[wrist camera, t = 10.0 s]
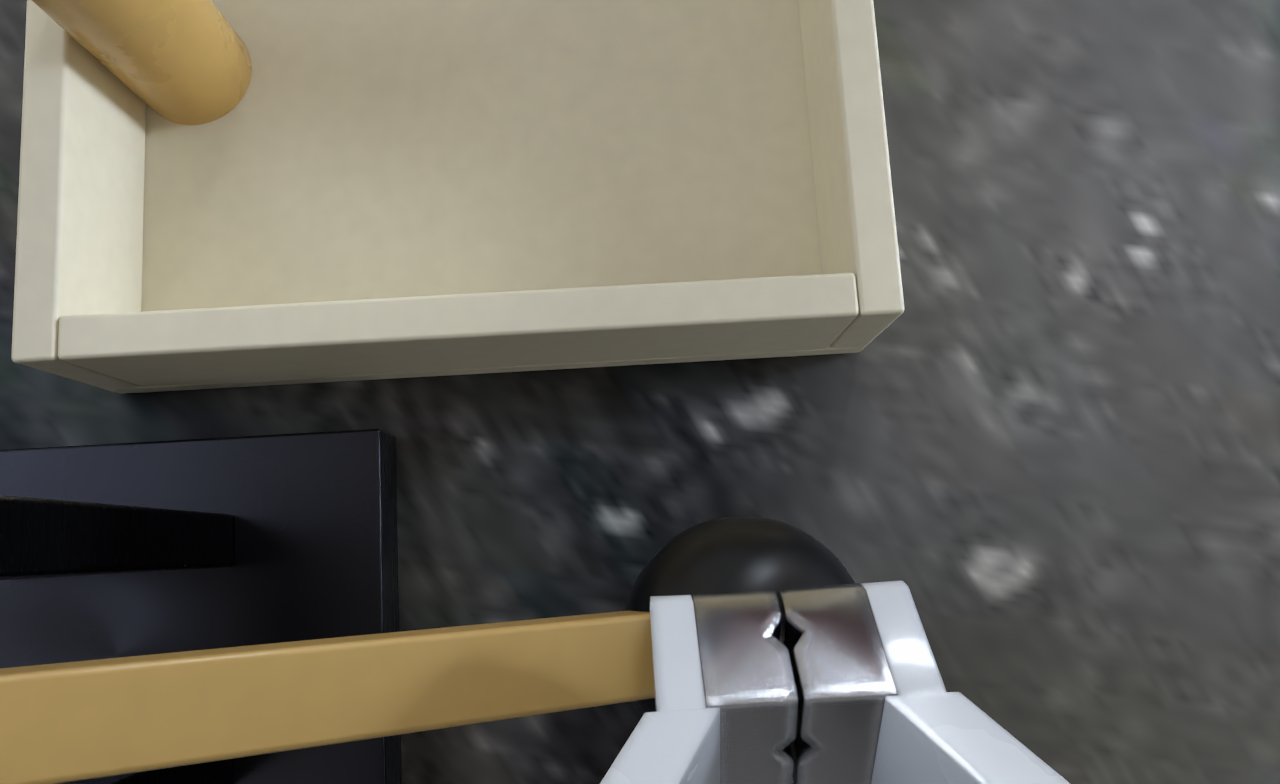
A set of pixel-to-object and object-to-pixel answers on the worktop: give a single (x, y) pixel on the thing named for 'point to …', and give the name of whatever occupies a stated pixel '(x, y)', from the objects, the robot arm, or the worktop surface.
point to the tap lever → (376, 673)
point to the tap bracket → (204, 565)
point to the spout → (163, 52)
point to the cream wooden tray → (462, 195)
